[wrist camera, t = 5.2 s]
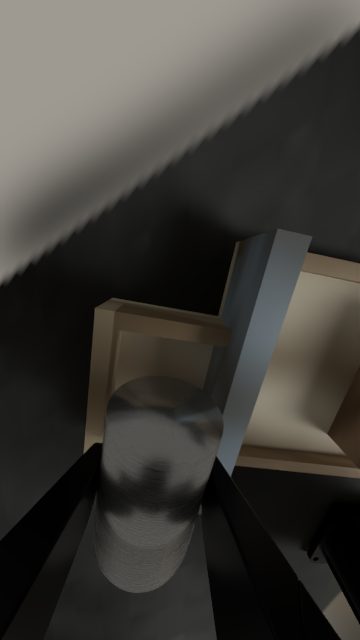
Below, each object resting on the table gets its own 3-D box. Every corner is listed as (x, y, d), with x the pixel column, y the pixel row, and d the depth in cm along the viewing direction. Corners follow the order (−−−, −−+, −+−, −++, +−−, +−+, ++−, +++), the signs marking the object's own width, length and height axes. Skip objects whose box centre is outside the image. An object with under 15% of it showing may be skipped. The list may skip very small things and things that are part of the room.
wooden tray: (392, 464, 15) (471, 535, 11) (99, 431, 13) (68, 503, 9) (494, 297, 12) (658, 314, 8) (120, 217, 10) (86, 185, 6)
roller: (210, 382, 8) (241, 469, 5) (186, 473, 9) (196, 593, 6) (121, 370, 8) (85, 455, 4) (109, 466, 9) (73, 591, 6)
